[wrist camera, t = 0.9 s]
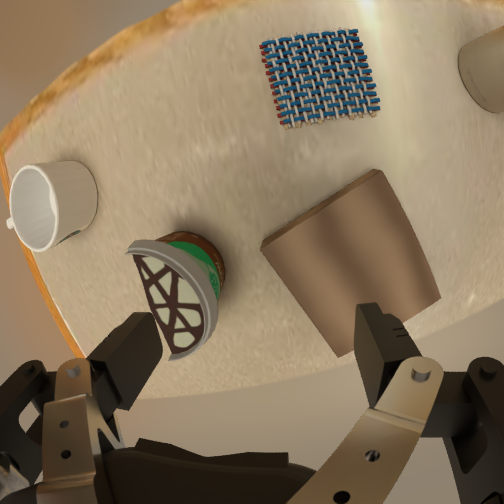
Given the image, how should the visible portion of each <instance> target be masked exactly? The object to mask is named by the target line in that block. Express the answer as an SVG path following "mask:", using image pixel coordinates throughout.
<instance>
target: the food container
mask: <svg viewBox="0 0 504 504" xmlns="http://www.w3.org/2000/svg"><path fill="white" fill-rule="evenodd" d="M128 254H132V255H133V258H134V261H135V263H136V266H137V268H138V271H139V274H140V277H141V279H142V282H143V286H144V289H145V293H146V297H147V300H148V303H149V306H150V309H151V311H152V313H153V315H154V317H155V319H156V321H157V323H158V324H159V326H160V328H161V330H162V332H163V334H164V337H165V339H166V341H167V343H168V346H169V348H170V350H171V352H172V354H171V356H170V358H169V360H168V361H175V360H179V359H183V358H185V357H187V356H189V355H191V354H193V353H194V352H196V351H197V350H199V349H200V347H201V346H202V345H203V344H204V343H205V342H206V341H207V340H208V339H209V338H210V337H211V335H212V333H213V331H214V330H215V327H216V323H217V318H218V305H217V300H218V297H219V294H220V291H221V288H222V285H223V283H224V280H225V266H224V262H223V259H222V257H221V255H220V253H219V252H218V250H217V249H216V248H215V246H214V245H213V244H211V243H210V242H209V241H208V240H207V239H205V238H203V237H202V236H200V235H197V234H194V233H191V232H181V231H180V232H173V233H171V234H168V235H166V236H163V237H161V238H159V239H156V240H136V241H134V242H133V243H132V244H131V245H130V246H129V248H128V252H127V253H125V255H128Z"/></svg>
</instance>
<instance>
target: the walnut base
mask: <svg viewBox="0 0 504 504" xmlns="http://www.w3.org/2000/svg"><path fill="white" fill-rule="evenodd" d="M260 251H261V252H262V253H263V255H264V256H265V257H266V259H267V260H268V262H269V263H270V264H271V266H272V267H273V268H274V270H275V271H276V273H277V274H278V275H279V277H280V278H281V279H282V281H283V282H284V284H285V285H286V286H287V288H288V289H289V290H290V292H291V293H292V295H293V296H294V297H295V299H296V300H297V302H298V303H299V304H300V306H301V307H302V308H303V310H304V311H305V313H306V314H307V315H308V317H309V318H310V320H311V321H312V322H313V324H314V325H315V326H316V328H317V329H318V331H319V332H320V333H321V335H322V336H323V338H324V339H325V340H326V342H327V343H328V345H329V346H330V347H331V349H332V350H333V352H334V353H335V354H336V356H337V357H338V358H339V357H341V356H343V355H345V354H347V353H349V352H351V351H353V350H354V328H355V312H356V305H357V304H361V303H371V302H377V304H378V305H379V307H380V309H381V310H382V312H383V314H388V313H391V314H392V315H394V316H395V317H397V318H398V319H400V321H401V322H402V323H403V322H405V321H407V320H408V319H410V318H411V317H413V316H415V315H416V314H418V313H419V312H421V311H423V310H424V309H426V308H427V307H429V306H430V305H432V304H433V303H435V302H436V301H438V300H439V299H441V296H440V293H439V290H438V288H437V285H436V282H435V280H434V277H433V275H432V272H431V270H430V267H429V265H428V262H427V260H426V257H425V255H424V253H423V250H422V248H421V246H420V244H419V241H418V239H417V237H416V235H415V233H414V231H413V228H412V226H411V224H410V222H409V220H408V218H407V216H406V214H405V212H404V210H403V208H402V206H401V204H400V202H399V200H398V198H397V197H396V195H395V193H394V191H393V189H392V187H391V186H390V184H389V182H388V180H387V178H386V177H385V175H384V173H383V172H382V171H381V170H376V169H373V170H371V171H370V172H368V173H367V174H365V175H364V176H362V177H360V178H359V179H357V180H356V181H354V182H353V183H351V184H350V185H348V186H346V187H345V188H343V189H342V190H340V191H339V192H337V193H336V194H334V195H333V196H331V197H329V198H328V199H326V200H325V201H323V202H322V203H320V204H319V205H317V206H316V207H314V208H313V209H311V210H309V211H308V212H306V213H305V214H303V215H302V216H300V217H299V218H297V219H296V220H294V221H292V222H291V223H289V224H288V225H286V226H285V227H283V228H282V229H280V230H279V231H277V232H276V233H274V234H272V235H271V236H269V237H268V238H266V239H265V240H263V242H262V245H261V248H260Z"/></svg>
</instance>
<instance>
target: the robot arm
mask: <svg viewBox="0 0 504 504" xmlns="http://www.w3.org/2000/svg"><path fill="white" fill-rule="evenodd" d="M458 63H459V70H460V74H461V77H462V80H463V82H464V84H465V86H466V88H467V90H468V92H469V93H470V95H471V96H472V97H473V99H474V100H475V101H476V102H477V103H478V104H479V105H480V106H481V107H483V108H484V109H486V110H487V111H490V112H493V113H503V112H504V26H502V27H500V28H498V29H496V30H494V31H492V32H490V33H488V34H486V35H484V36H482V37H480V38H478V39H476V40H474V41H472V42H471V43H469V44H467V45H465V46H464V47H463V48H462V49H461V51H460V53H459V58H458ZM162 353H163V346H162V342H161V339H160V336H159V332H158V329H157V325H156V322H155V318H154V316H153V314H152V313H150V312H134V313H132V314H131V315H130V316H129V317H128V318H127V319H126V320H125V322H124V323H123V324H121V325H120V326H118V327H116V328H115V329H114V330H113V331H112V332H111V333H110V334H109V335H108V337H106V338H105V339H104V340H103V342H101V343H100V344H99V345H98V346H97V347H96V348H95V349H94V350H93V352H92V353H91V354H90V355H89V356H88V357H87V358H86V359H84V358H75V359H71V360H68V361H66V362H65V363H63V364H62V365H61V366H60V367H59V368H58V370H57V371H54V372H47V371H46V369H45V367H44V365H43V363H42V362H41V361H39V360H31V361H28V362H26V363H24V364H23V365H21V366H20V367H19V368H18V369H17V370H16V371H15V372H14V373H13V374H12V375H11V376H10V377H9V378H8V379H7V380H6V381H5V382H4V383H3V384H2V385H1V386H0V504H383V502H384V501H385V499H386V498H387V496H388V494H389V493H390V491H391V490H392V488H393V487H394V485H395V483H396V482H397V480H398V478H399V476H400V475H401V473H402V471H403V469H404V467H405V466H406V464H407V462H408V460H409V458H410V456H411V454H412V452H413V450H414V448H415V446H416V444H417V442H418V440H419V438H420V437H442V438H443V441H444V444H445V447H446V450H447V454H448V457H449V460H450V464H451V467H452V471H453V474H454V478H455V482H456V486H457V490H458V494H459V498H460V502H461V504H504V365H503V364H502V363H501V362H500V361H498V360H496V359H494V358H490V357H480V358H476V359H474V360H473V361H472V362H471V363H470V364H469V367H468V369H467V372H445V371H443V368H442V366H441V365H440V364H439V363H438V362H437V361H435V360H433V359H431V358H428V357H423V356H422V355H421V353H420V351H419V350H418V348H417V346H416V345H415V343H414V341H413V340H412V338H411V337H410V336H409V333H408V332H407V330H406V329H405V327H404V325H403V324H402V322H401V321H400V319H398V318H397V317H395V316H394V315H392V314H391V313H388V314H383V312H382V310H381V309H380V307H379V305H378V304H377V302H371V303H361V304H357V305H356V312H355V328H354V353H355V357H356V360H357V363H358V367H359V370H360V373H361V377H362V380H363V384H364V387H365V391H366V395H367V398H368V402H369V406H370V407H369V408H368V409H367V410H366V411H365V412H364V413H363V415H362V416H361V418H360V419H359V420H358V421H357V423H356V424H355V426H354V427H353V428H352V430H351V431H350V432H349V434H348V435H347V436H346V438H345V439H344V440H343V441H342V443H341V444H340V445H339V446H338V447H337V449H336V450H335V451H334V452H333V454H332V455H331V456H330V457H329V458H328V459H327V461H326V462H325V463H324V464H323V465H322V466H321V468H320V469H319V470H318V471H316V470H313V469H311V468H308V467H305V466H302V465H298V464H293V463H289V457H288V452H287V453H286V452H285V453H284V452H282V453H261V452H260V453H259V452H246V453H238V454H231V455H223V456H214V457H204V456H201V455H198V454H195V453H192V452H190V451H187V450H185V449H182V448H179V447H177V446H174V445H172V444H168V443H162V442H156V441H152V440H147V439H142V438H139V440H138V442H137V443H136V445H135V447H128V448H125V445H124V442H123V438H122V434H121V430H120V426H119V422H118V418H117V416H116V414H115V412H114V411H115V410H116V408H118V409H123V410H128V411H129V410H130V408H131V406H132V405H133V403H134V401H135V400H136V398H137V396H138V395H139V393H140V392H141V390H142V388H143V387H144V385H145V383H146V382H147V380H148V379H149V377H150V375H151V374H152V372H153V370H154V369H155V367H156V366H157V364H158V362H159V361H160V359H161V357H162ZM30 401H31V402H32V403H33V405H34V407H35V408H36V410H37V411H38V412H39V414H40V415H39V416H38V418H37V419H36V420H35V421H34V423H33V424H32V425H31V427H30V428H29V429H28V431H27V432H26V433H25V432H24V430H23V429H22V428H21V426H20V424H19V415H20V413H21V412H22V411H23V410H24V408H25V407H26V406H27V404H28V403H29V402H30ZM42 470H43V481H42V482H39V483H37V484H34V483H35V481H36V479H37V478H38V476H39V474H40V473H41V471H42Z"/></svg>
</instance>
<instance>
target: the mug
mask: <svg viewBox="0 0 504 504" xmlns="http://www.w3.org/2000/svg"><path fill="white" fill-rule="evenodd" d="M97 197H98V195H97V189H96V184H95V182H94V179H93V176H92V175H91V173H90V172H89V170H88V169H87V168H86V167H85V166H84V165H83V164H82V163H79V162H77V161H61V162H49V163H38V164H29V165H26V166H24V167H22V168H21V169H20V170H19V171H18V173H17V174H16V176H15V178H14V180H13V182H12V186H11V190H10V199H9V203H10V214H11V217H10V218H8V219H7V226H8V228H9V229H13V228H15V231H16V233H17V234H18V236H19V238H20V240H21V241H22V242H23V243H24V244H25V246H27V247H28V248H29V249H31V250H33V251H36V252H45V251H47V250H48V249H50V248H52V247H53V246H55V245H57V244H59V243H60V242H62V241H64V240H66V239H68V238H69V237H71V236H73V235H75V234H77V233H79V232H80V231H82V230H84V229H85V228H87V227H88V226H89V225H90V224H91V222H92V221H93V219H94V216H95V214H96V209H97Z"/></svg>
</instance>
